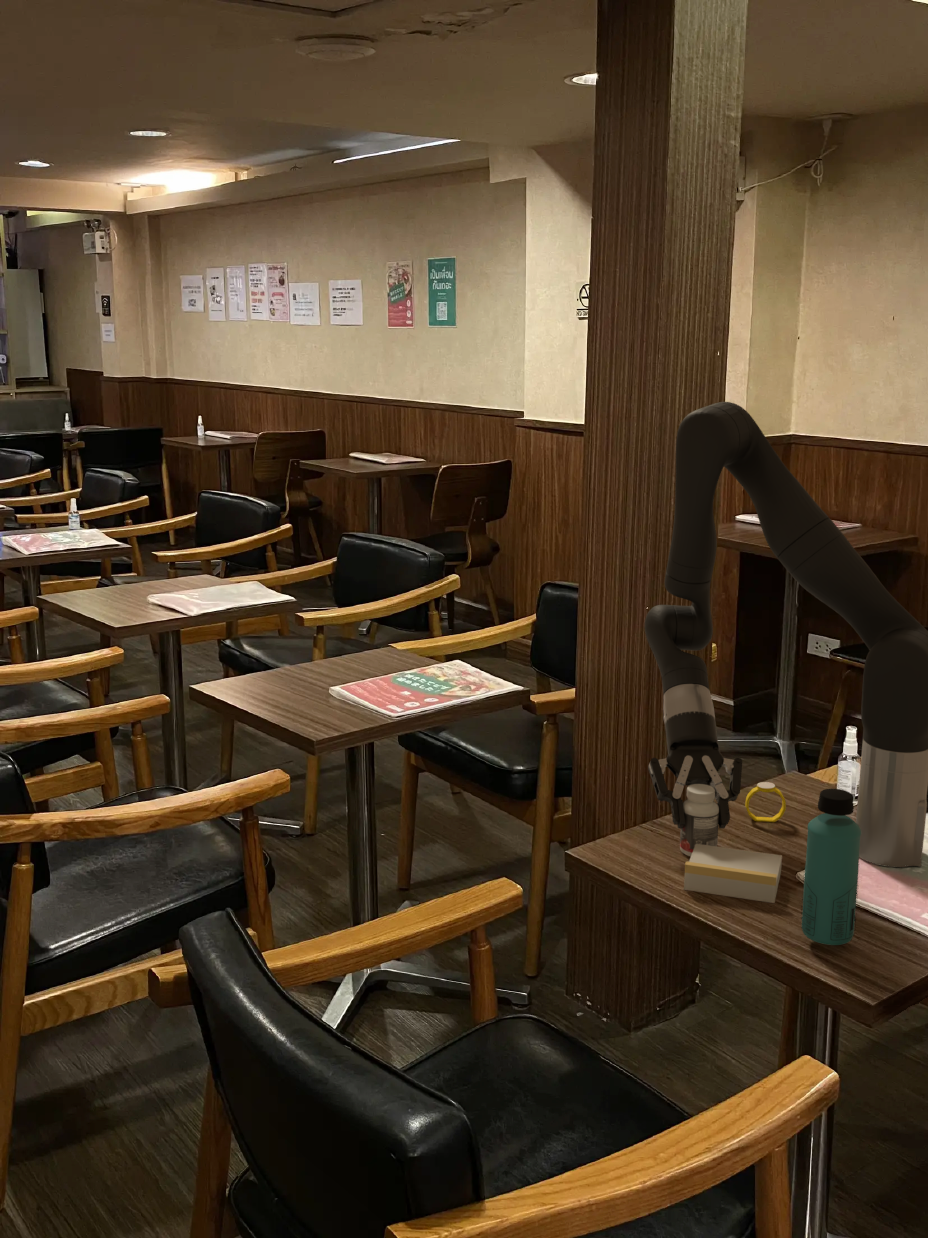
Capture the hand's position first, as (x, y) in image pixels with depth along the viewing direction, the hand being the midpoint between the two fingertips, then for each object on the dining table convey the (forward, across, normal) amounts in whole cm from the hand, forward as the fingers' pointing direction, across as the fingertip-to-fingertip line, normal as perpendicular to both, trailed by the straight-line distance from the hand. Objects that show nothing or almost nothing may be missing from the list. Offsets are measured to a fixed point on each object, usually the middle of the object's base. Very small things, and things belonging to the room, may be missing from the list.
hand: (702, 826), depth 172 cm
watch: (-6, +13, +13) cm, 19 cm away
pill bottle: (+2, 0, +5) cm, 5 cm away
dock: (+9, +3, -2) cm, 10 cm away
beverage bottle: (+21, +10, -14) cm, 28 cm away
